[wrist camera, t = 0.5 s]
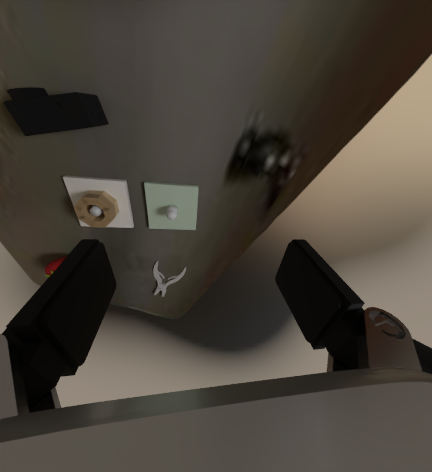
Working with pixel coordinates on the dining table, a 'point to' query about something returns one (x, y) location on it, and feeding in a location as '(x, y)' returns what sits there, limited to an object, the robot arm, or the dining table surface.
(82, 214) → the collar
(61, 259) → the strawberry
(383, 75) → the dining table surface
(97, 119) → the digital camera
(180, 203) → the plate
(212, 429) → the robot arm
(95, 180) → the stand
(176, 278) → the pliers
